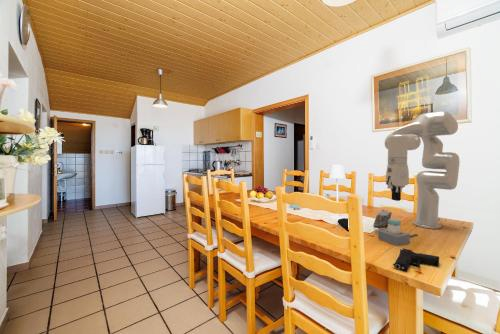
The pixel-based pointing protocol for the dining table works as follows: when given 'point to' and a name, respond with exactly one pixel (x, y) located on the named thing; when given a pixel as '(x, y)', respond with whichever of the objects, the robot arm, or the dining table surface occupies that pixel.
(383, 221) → the rock
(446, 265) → the dining table surface
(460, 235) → the dining table surface
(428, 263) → the handgun
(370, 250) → the dining table surface
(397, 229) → the plug
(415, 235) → the dark grey bar
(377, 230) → the grey square frame
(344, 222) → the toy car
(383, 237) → the port
